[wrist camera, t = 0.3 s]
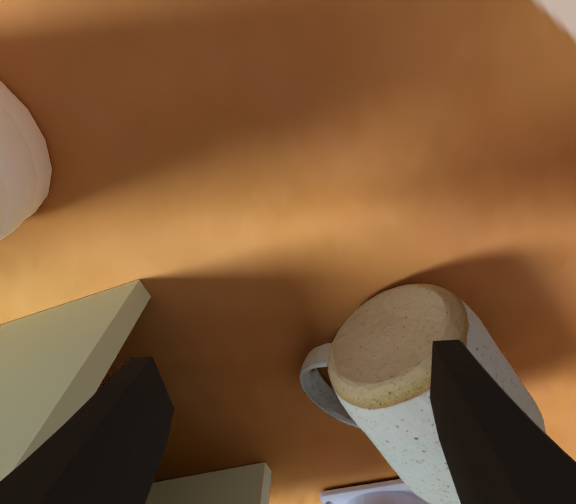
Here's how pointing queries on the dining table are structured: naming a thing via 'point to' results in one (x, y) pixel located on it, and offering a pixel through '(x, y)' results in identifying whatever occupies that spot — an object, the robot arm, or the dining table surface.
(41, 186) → the bottle
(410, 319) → the ceramic mug
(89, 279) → the dining table surface
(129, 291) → the counter shelf
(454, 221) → the dining table surface
